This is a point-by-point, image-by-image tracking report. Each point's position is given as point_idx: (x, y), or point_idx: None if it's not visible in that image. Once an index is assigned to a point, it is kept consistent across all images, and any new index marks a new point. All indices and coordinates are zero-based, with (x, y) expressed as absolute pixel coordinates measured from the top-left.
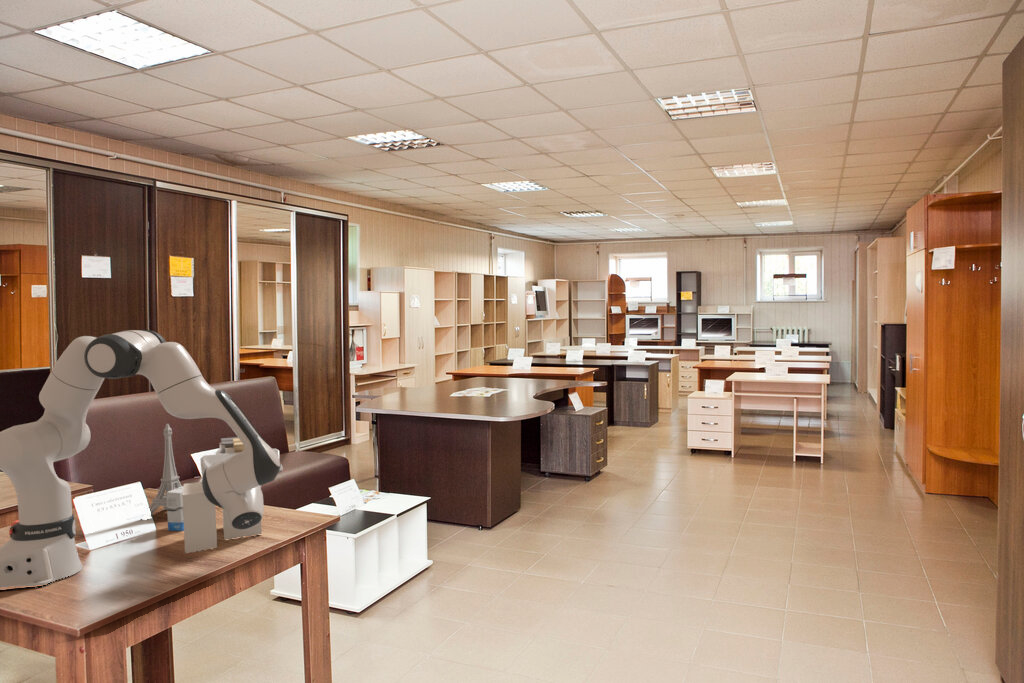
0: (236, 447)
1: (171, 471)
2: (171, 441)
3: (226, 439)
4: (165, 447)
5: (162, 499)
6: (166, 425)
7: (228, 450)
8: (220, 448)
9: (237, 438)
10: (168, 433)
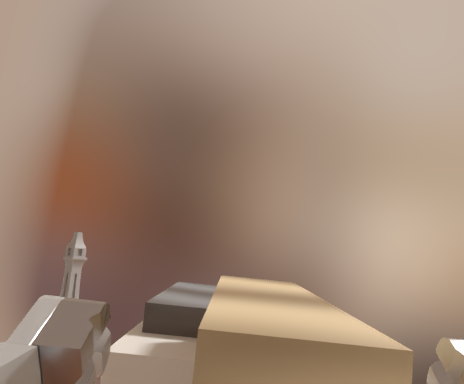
0: (229, 382)
1: None
2: (79, 281)
3: (196, 288)
4: (61, 295)
5: None
6: (75, 235)
7: (168, 363)
8: (22, 335)
9: (251, 279)
10: (73, 257)
